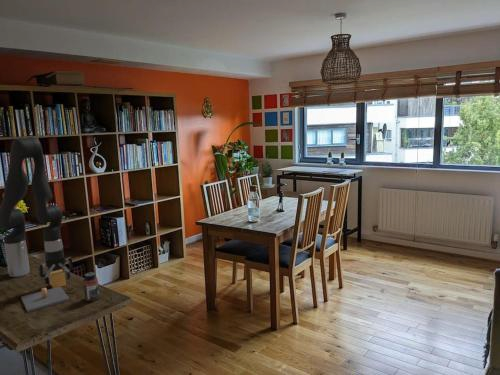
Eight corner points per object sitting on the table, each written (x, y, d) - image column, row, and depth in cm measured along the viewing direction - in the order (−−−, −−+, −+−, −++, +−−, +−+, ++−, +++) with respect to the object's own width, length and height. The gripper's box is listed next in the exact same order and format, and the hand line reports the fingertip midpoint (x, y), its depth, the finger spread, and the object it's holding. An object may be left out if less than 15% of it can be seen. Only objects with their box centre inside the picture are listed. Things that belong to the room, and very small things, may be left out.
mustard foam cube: (50, 284, 184) (48, 272, 183) (63, 281, 188) (61, 269, 187) (53, 288, 180) (51, 276, 179) (66, 285, 183) (64, 273, 182)
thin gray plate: (21, 298, 170) (19, 288, 170) (60, 288, 180) (59, 278, 179) (27, 312, 158) (25, 300, 157) (69, 300, 168) (68, 289, 167)
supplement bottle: (85, 297, 170) (82, 272, 168) (99, 294, 172) (97, 270, 170) (84, 303, 165) (81, 277, 163) (99, 300, 167) (97, 275, 165)
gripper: (68, 243, 188) (72, 275, 191) (35, 250, 179) (39, 283, 182) (72, 247, 182) (76, 280, 185) (38, 254, 174) (42, 288, 176)
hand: (58, 281), depth 184 cm, fingers open, 8 cm apart
